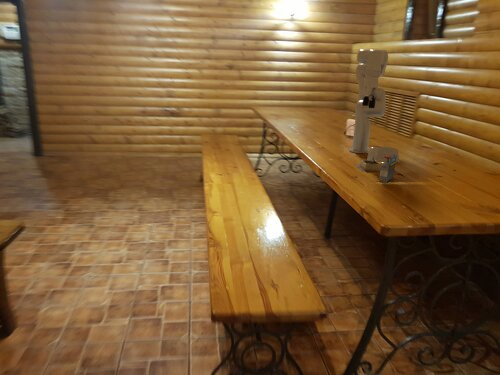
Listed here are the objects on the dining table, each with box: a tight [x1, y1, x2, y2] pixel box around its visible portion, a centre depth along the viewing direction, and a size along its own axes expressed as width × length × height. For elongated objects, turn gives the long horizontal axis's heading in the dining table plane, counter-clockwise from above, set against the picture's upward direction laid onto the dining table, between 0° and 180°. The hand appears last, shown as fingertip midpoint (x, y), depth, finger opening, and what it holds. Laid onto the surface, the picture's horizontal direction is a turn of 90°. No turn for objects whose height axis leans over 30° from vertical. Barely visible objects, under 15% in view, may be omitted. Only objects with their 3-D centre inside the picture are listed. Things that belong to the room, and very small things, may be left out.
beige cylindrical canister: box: [366, 146, 379, 164], centre depth 195 cm, size 4×4×11 cm
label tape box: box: [378, 155, 397, 184], centre depth 180 cm, size 9×4×12 cm, turn 141°
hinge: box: [376, 146, 401, 163], centre depth 214 cm, size 17×5×10 cm, turn 92°
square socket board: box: [359, 155, 393, 171], centre depth 196 cm, size 8×16×7 cm, turn 93°
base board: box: [353, 163, 397, 173], centre depth 198 cm, size 14×18×1 cm
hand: (368, 106), depth 209 cm, fingers open, 9 cm apart
